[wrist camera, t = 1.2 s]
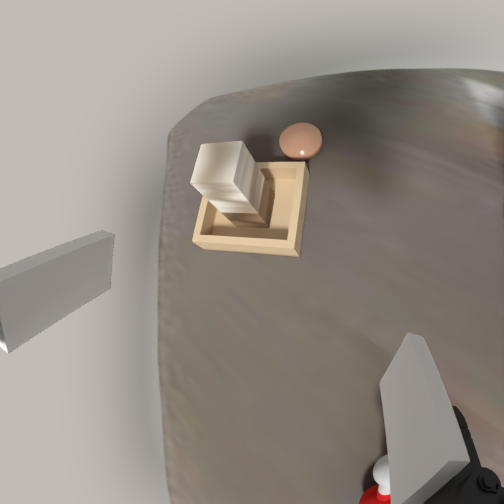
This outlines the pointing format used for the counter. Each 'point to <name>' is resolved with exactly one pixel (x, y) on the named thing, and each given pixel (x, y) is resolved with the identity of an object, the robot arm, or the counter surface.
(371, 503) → the molecular model
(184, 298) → the counter surface
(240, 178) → the two-tone block
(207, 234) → the beige open tray
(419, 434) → the robot arm
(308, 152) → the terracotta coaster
